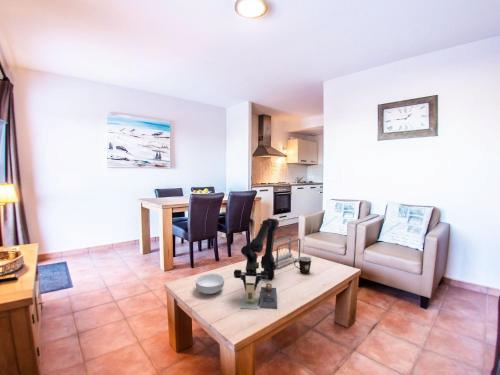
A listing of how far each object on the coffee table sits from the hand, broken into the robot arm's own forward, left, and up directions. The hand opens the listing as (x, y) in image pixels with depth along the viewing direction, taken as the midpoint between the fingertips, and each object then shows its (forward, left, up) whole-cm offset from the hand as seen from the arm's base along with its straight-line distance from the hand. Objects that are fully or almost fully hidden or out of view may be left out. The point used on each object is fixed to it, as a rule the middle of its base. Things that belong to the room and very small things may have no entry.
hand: (250, 290), depth 132 cm
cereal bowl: (-27, +5, -8) cm, 29 cm away
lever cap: (0, +1, -7) cm, 7 cm away
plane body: (+8, +9, -8) cm, 14 cm away
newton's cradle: (+4, +66, -8) cm, 66 cm away
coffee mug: (+20, +53, -8) cm, 57 cm away
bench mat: (0, +1, -8) cm, 8 cm away
